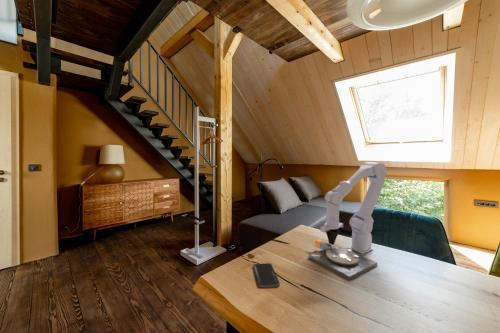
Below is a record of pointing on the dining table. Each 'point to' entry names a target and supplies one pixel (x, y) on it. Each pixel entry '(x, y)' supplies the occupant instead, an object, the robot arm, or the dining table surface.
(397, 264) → the dining table surface
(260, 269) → the phone
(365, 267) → the base plate
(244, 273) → the dining table surface
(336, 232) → the robot arm
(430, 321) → the dining table surface
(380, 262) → the dining table surface
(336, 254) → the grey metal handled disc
